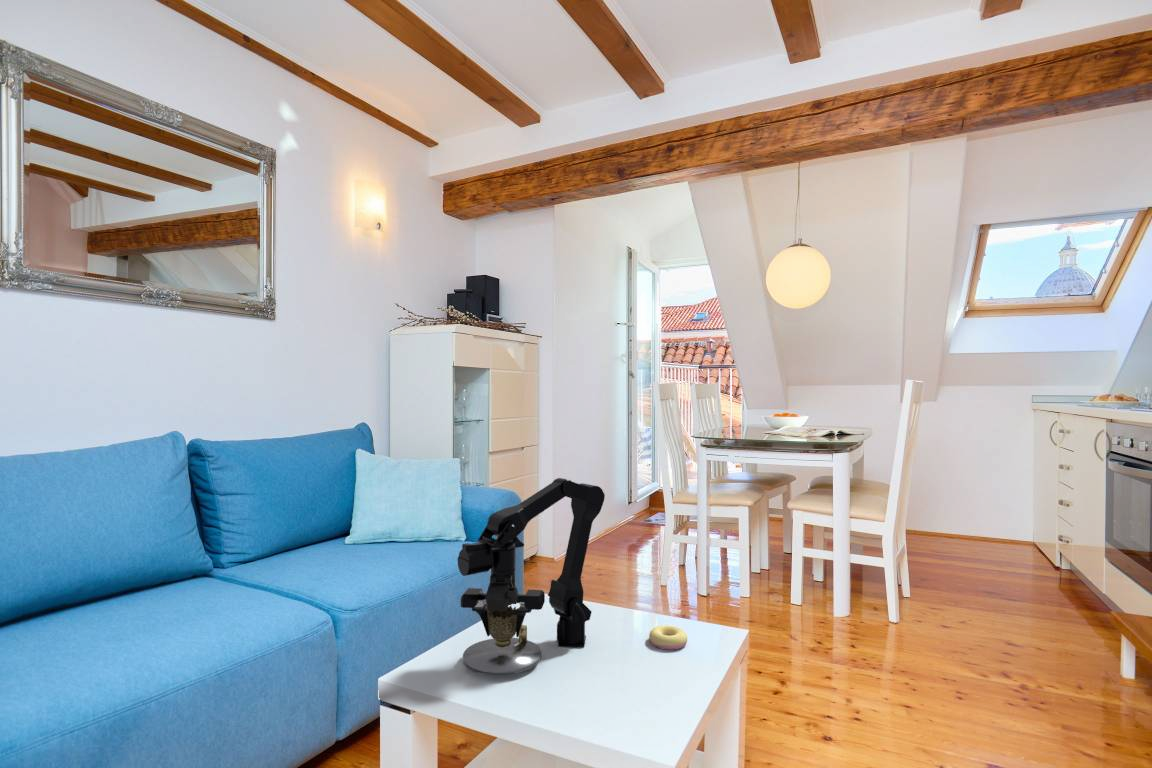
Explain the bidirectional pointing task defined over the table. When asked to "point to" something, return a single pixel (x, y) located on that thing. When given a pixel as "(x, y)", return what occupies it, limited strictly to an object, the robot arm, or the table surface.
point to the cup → (503, 625)
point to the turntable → (503, 656)
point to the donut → (668, 637)
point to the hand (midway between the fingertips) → (503, 636)
